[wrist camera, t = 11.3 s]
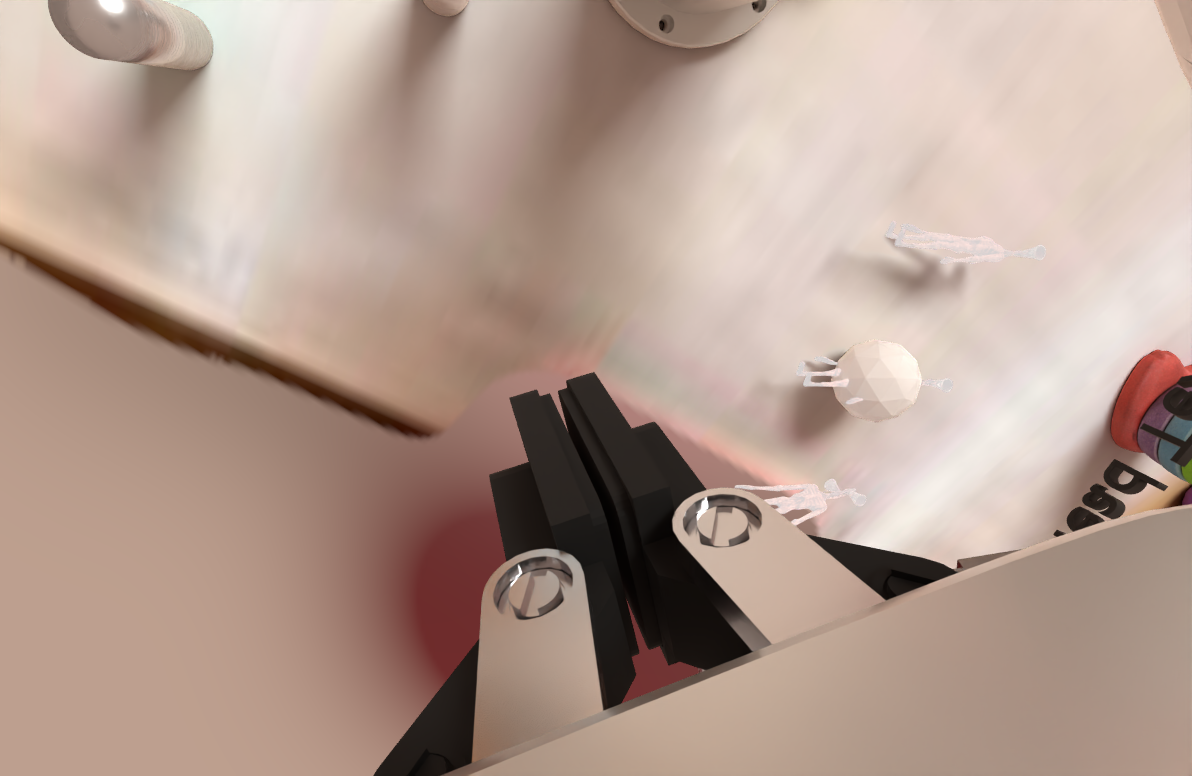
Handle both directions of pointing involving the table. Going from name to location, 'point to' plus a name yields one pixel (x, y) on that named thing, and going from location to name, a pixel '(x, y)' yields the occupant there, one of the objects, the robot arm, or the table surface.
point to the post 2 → (446, 6)
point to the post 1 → (134, 32)
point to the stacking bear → (1152, 411)
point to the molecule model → (892, 381)
